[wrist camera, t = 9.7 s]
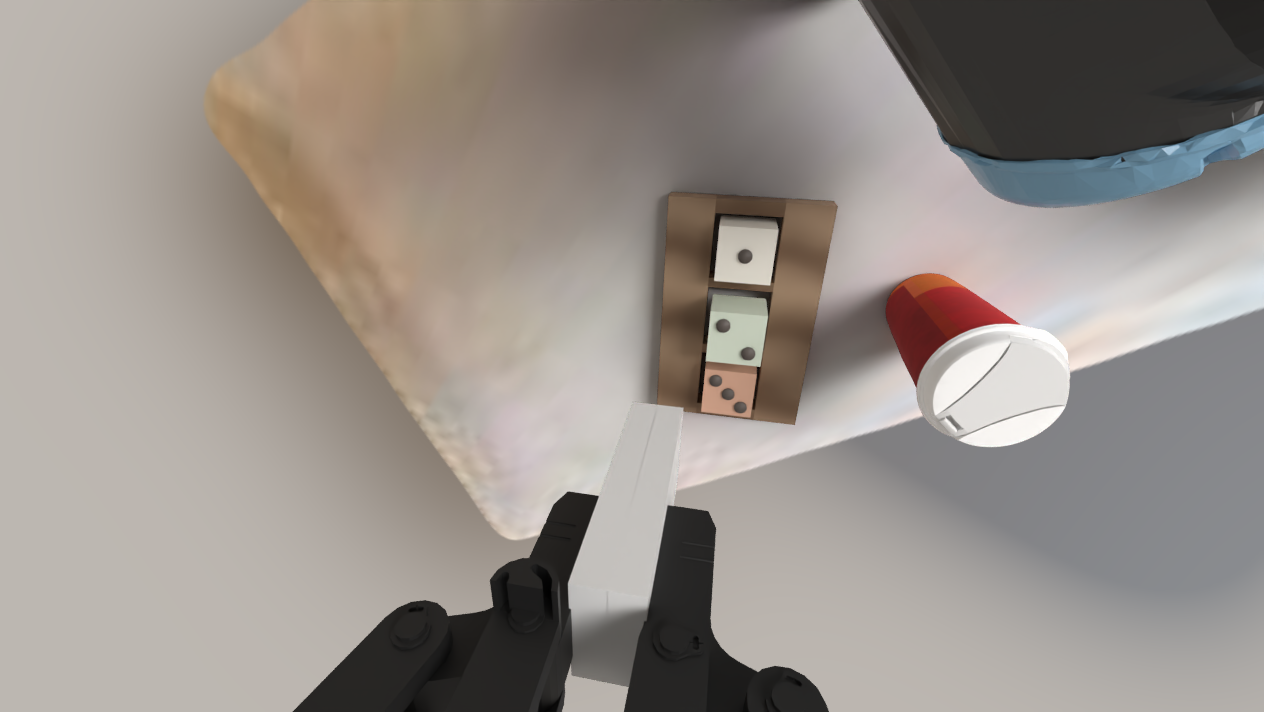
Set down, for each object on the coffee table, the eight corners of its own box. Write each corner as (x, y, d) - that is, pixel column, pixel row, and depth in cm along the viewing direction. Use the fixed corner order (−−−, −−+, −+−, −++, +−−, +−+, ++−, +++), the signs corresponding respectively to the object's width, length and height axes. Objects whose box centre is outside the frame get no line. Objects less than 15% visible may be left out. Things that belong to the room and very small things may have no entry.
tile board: (671, 191, 44) (668, 195, 42) (833, 201, 42) (837, 205, 40) (659, 397, 53) (656, 408, 51) (792, 413, 51) (794, 424, 49)
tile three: (707, 349, 49) (705, 370, 46) (755, 354, 49) (756, 375, 45) (703, 389, 51) (700, 412, 48) (749, 395, 51) (750, 418, 47)
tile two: (713, 294, 45) (710, 311, 41) (766, 298, 44) (768, 317, 40) (708, 341, 47) (705, 362, 43) (759, 346, 46) (760, 368, 42)
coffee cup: (909, 368, 47) (975, 476, 34) (850, 304, 45) (894, 391, 32) (1001, 308, 43) (1115, 402, 30) (940, 236, 42) (1031, 302, 29)
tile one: (721, 215, 44) (719, 226, 40) (775, 218, 43) (778, 230, 40) (716, 266, 46) (713, 281, 42) (767, 270, 45) (770, 286, 41)
